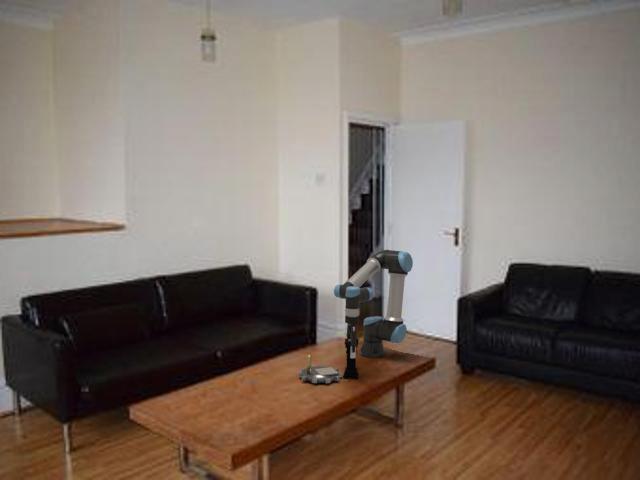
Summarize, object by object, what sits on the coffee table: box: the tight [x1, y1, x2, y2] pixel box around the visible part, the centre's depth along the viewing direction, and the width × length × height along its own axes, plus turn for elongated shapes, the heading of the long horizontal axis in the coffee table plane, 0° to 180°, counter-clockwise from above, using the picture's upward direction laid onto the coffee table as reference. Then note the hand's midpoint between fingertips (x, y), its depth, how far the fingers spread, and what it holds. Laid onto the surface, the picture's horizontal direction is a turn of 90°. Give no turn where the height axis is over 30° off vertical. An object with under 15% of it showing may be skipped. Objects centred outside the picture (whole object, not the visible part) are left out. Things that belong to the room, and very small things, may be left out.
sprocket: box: [298, 354, 343, 384], centre depth 309 cm, size 23×23×12 cm
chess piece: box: [342, 338, 360, 381], centre depth 312 cm, size 8×8×20 cm
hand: (351, 354), depth 311 cm, fingers open, 13 cm apart
